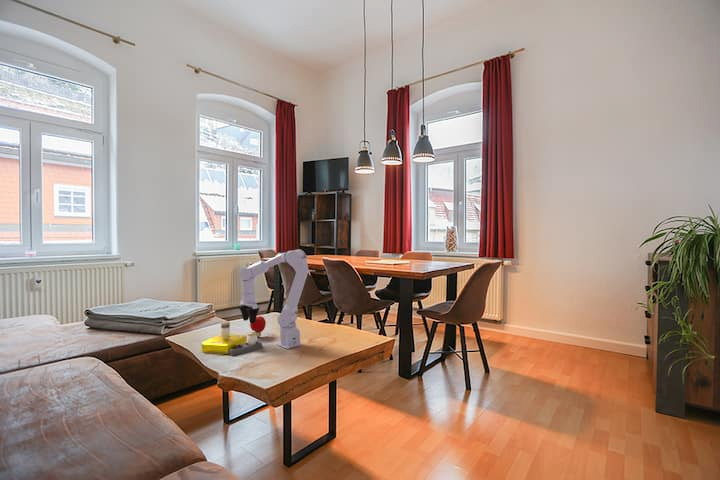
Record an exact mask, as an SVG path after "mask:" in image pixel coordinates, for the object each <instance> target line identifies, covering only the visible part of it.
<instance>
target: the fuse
mask: <svg viewBox="0 0 720 480" xmlns="http://www.w3.org/2000/svg"><path fill="white" fill-rule="evenodd" d="M246 336H247V343H248V346H251V345H256V340H257V337H256V332H255V331H249V332H247V335H246Z"/></svg>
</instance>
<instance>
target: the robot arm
mask: <svg viewBox="0 0 720 480" xmlns="http://www.w3.org/2000/svg"><path fill="white" fill-rule="evenodd" d="M307 258H308V256H307V255H306V252H304V250H302V249H300V248H299V249H293V250H288V251H285V252H282V253H279V254H278V255H276V256H274V257H272V258H269V259H268V260H266V261H265V260H263V259H262V260H261V259H259V260H257V261H256V262H255V263H253V264H249V265H248V266H247V267H243V268H241V269H240V270H239V272H238V276H239V278H240V280H241V300H240V303H239V305H238V309H239V311H240V313H241V316H242V320H243V321H248V320H249V323H250V324H252V323H255V321H256V317H258V316H257V315H258V313H259V311H260V307H258V304H257V302H256V297H255V295H256V294H255V293H256V292H255V291H256V290H255V278H256V277H259V276H260V275H263V274H265V273H267V272H268V271H269V270H270V269H269V268H271V267H274V266H276V265H278V264H280V263H287V264H288V265H289V266H291V267H292V268H293V269H294V271H295V276H294V277H293V281H292V284H291V288H290V289H289V290H290V291H289V293H288V297H287V298H286V299H287V300H286V303H285V305H284V307H283V308H282V310H281V312H280V314H278V317H277V318H276V319H277V323H278V326H279V334H280V335H279V339H280V340H279V341H280V342H277V343H276V345H277V346H280V347H282V348H283V349H286V350H288V349H289V350H290V349H291V348H296V347H300V346H302V343H301V335H300V334H301V333H300V330H299V328H297V323H296V321H297V319H298V309H299V307H298V304H299V302H300V298H301V295H302V292H303V290H304V286H305V283H306V280H307V277H308V274H309V266H308V265H309V264H308V259H307ZM250 324H249V325H250Z"/></svg>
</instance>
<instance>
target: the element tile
mask: <svg viewBox="0 0 720 480" xmlns="http://www.w3.org/2000/svg"><path fill="white" fill-rule="evenodd" d="M243 343H248V337H247V335H244V334H231V333H230V336H229V338H226V339H222V338H221V333H219V334H218V335H215V336H213V337H211V338H209V339H207V340H205V341H202V342H201V353H205V354H206V353H207V354H219V355H220V354H221V355H229V354H228V349H229V348H231V349H233V350H235V346H236V345H239V344H243Z"/></svg>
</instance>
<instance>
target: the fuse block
mask: <svg viewBox="0 0 720 480" xmlns="http://www.w3.org/2000/svg"><path fill="white" fill-rule="evenodd" d="M260 349H263V342H260V341H259V340H257V339H256V345H251V346H248V342H247V343H243V344H239V345H236V346H235V350H233V349H231V348H229V349H228V354H227V355H229V356H231V357H233V356H236V355H241V354H245V353H249V352H253V351H257V350H260Z"/></svg>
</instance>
